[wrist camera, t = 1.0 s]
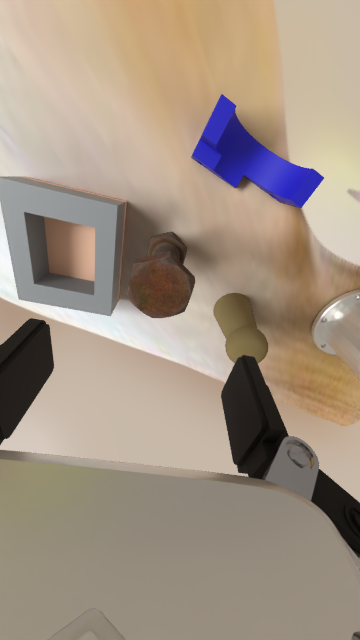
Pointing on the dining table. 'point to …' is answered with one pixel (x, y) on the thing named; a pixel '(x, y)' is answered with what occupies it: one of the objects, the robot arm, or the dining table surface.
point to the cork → (240, 328)
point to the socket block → (64, 244)
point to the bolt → (161, 278)
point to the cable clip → (250, 159)
